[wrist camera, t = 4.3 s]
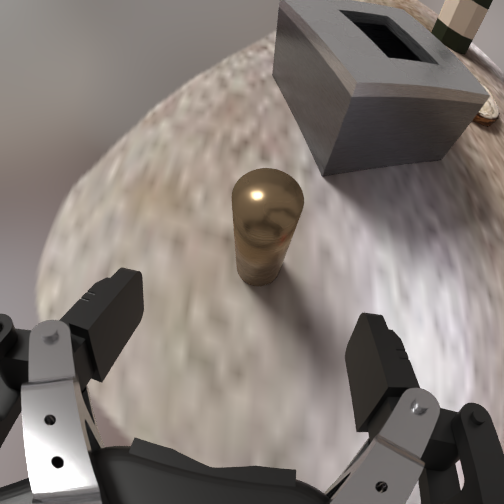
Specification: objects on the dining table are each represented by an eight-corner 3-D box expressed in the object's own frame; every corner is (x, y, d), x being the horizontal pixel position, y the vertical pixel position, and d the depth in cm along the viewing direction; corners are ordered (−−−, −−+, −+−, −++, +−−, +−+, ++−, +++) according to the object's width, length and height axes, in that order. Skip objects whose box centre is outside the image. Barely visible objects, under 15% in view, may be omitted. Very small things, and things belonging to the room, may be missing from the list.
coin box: (379, 72, 30) (403, 9, 20) (440, 160, 25) (490, 95, 16) (272, 75, 28) (279, -4, 19) (322, 176, 24) (357, 82, 14)
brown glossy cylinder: (273, 240, 22) (291, 163, 13) (285, 280, 21) (313, 221, 12) (232, 250, 21) (224, 175, 13) (242, 290, 20) (241, 238, 12)
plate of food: (431, 55, 34) (440, 37, 31) (502, 111, 31) (514, 96, 27) (403, 80, 30) (414, 57, 27) (492, 153, 27) (509, 134, 23)
